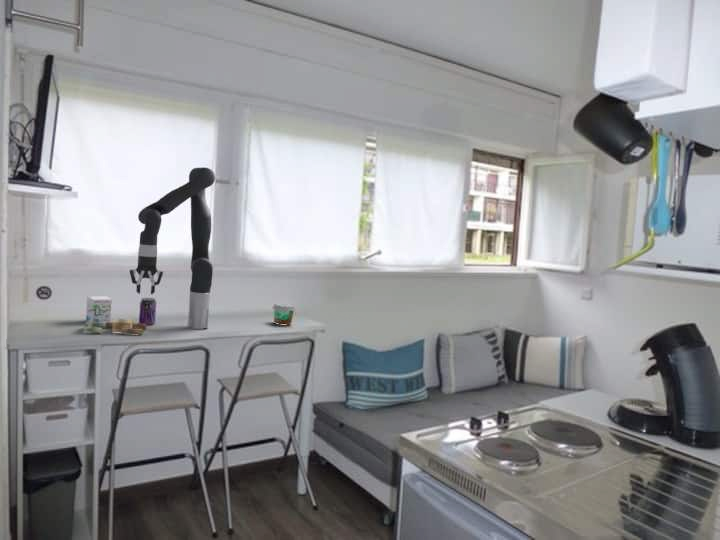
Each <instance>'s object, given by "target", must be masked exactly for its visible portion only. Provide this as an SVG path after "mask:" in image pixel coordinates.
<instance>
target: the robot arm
mask: <svg viewBox="0 0 720 540" xmlns="http://www.w3.org/2000/svg"><path fill="white" fill-rule="evenodd" d="M188 174H189V175H188V182H186V183H184V184H183V185H181V186H179V187H177V188H175V189H172V190H171V191H170V192H168V193H166V194H165V195H164V196H162V197H160V198H159V199H158V200H157V201H155V202H153V203H151V204H149V205H147V206H145V207H143V209H141V210H140V211H139V212H138V215H137V218H138V221H139V222H140V223H141V224H142V225H144V228H143V230H142V231H141V232H140V234H139V245H138V252H137V255H138V257H137V266H136V268H135V269H130V270H129V275H130V279H131V283H132V284H135V285H136V293H137V294H139V295H140V294H141V287H142V285H141V282H142V280H143V279H149V281H150V283H151V286H150V294H151V295H154V294H155V291H156V286H159V285H160V283H161V280H162V277H163V275H164V271H162V270H161V271H160V270H158V269H157V259H158V246H157V245H158V235H159V232H160V229H161V226H162V225H161V224H162V216H163V215H167V214H170V213H171V212H172V211H174V210H176V209H177V208H178V207H179V206H180V205H182V204H183V203H184V202H186V201H187V200H188V199H190V233H191V235H190V236H191V245H192V252H191V263H190V270H191V282H190V287H189V300H188V302H189V303H188V315H187V328H189V329H192V330H204V329H203V328H208V327H209V317H210V316H209V315H210V298H211V296H210V295H211V288H212V285H213V271H214V269H213V268H214V267H213V264H212V262H211V261H210V258H209V246H210V245H209V244H210V240H211V235H212V214H211V210H210V208H209V205H208V203H207V200H206V189H207V188H209V187H211V186H213V184H215V181H216V175H215V171H214V170H213V169H211V168H209V167H204V166H203V167H194V168H192V169H191V170H190V172H189V173H188ZM136 273H138V275H139V277H138V278H137V279H138V280H136V276H135V275H136ZM155 274H157V276H158V277H157V280H156V281H155V277H154V276H155Z"/></svg>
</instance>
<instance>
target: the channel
mask: <svg viewBox="0 0 720 540" xmlns="http://www.w3.org/2000/svg"><path fill="white" fill-rule="evenodd" d="M147 326H148V325H147V324H140V323H135V322H134V323H133V326H132V329H121V334H138V335H137V336H140V335H143V336H144V331H146V330H147ZM112 327H113V322H110V323H109V322H93V319H90V320H88V321H86V322H85V323H84V327H83V334H84V333H101V334H102V329H105V328H112Z"/></svg>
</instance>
